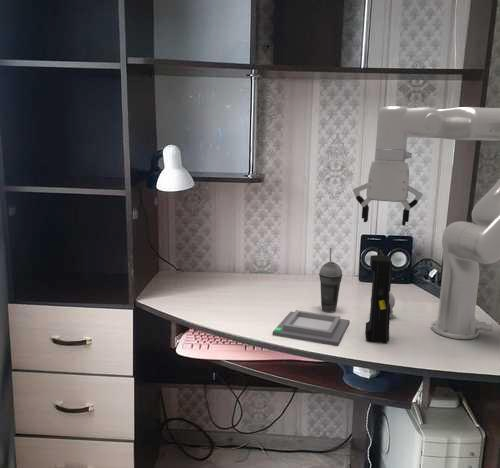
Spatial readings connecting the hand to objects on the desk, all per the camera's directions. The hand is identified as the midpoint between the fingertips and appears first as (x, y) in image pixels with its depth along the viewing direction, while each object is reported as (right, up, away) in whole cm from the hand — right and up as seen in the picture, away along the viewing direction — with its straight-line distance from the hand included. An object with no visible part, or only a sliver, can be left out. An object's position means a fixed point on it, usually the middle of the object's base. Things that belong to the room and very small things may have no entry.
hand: (384, 223), depth 128 cm
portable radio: (0, -32, +6) cm, 32 cm away
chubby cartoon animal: (+5, -29, +22) cm, 37 cm away
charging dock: (-17, -30, +12) cm, 37 cm away
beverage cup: (-10, -27, +28) cm, 41 cm away
